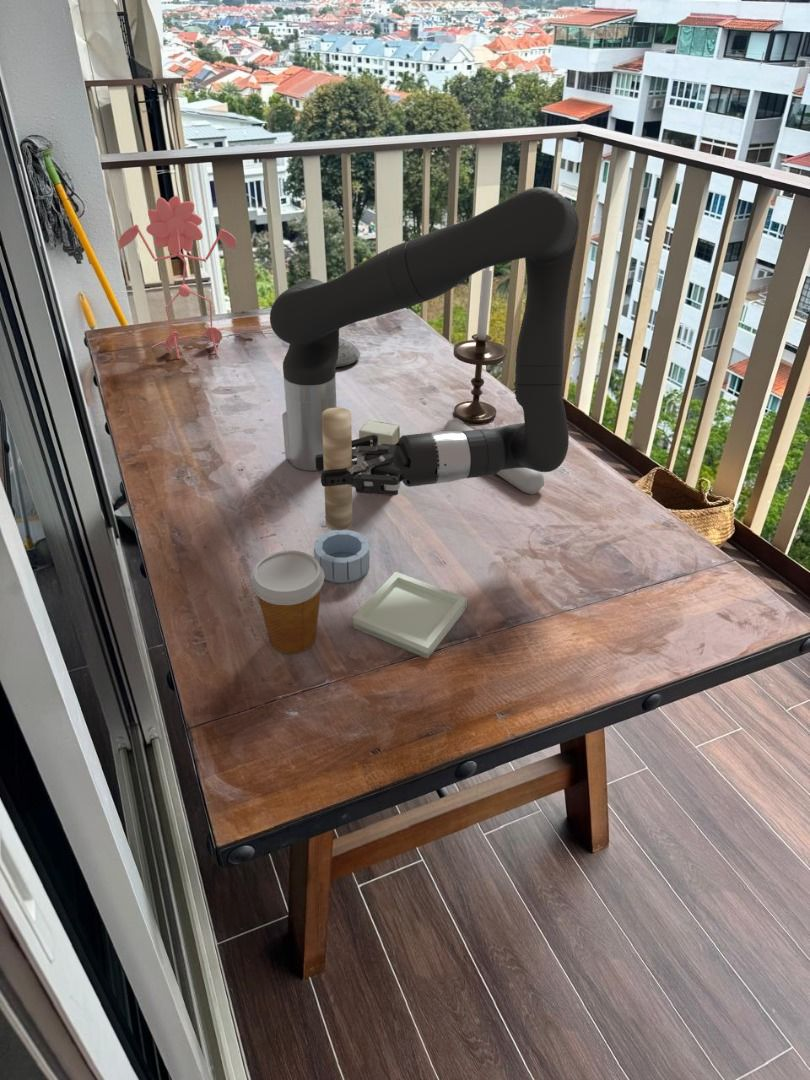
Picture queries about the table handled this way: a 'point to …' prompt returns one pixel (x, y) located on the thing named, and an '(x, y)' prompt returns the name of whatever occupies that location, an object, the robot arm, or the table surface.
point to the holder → (343, 555)
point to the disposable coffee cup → (289, 598)
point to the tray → (410, 614)
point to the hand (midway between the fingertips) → (318, 470)
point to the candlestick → (479, 360)
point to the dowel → (337, 466)
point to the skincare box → (381, 433)
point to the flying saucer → (346, 353)
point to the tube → (518, 477)
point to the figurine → (178, 248)
